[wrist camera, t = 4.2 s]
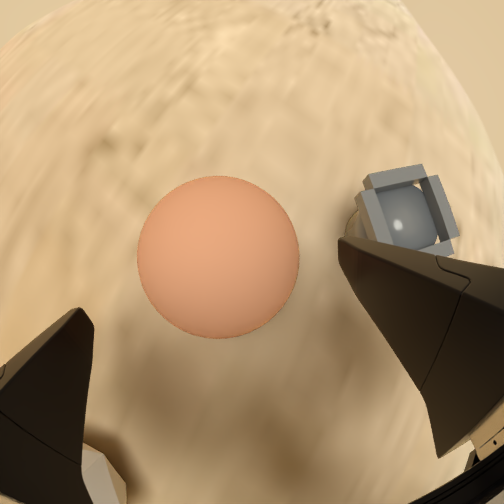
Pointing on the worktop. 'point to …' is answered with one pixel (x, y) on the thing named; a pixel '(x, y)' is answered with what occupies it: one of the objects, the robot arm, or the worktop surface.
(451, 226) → the slate cup
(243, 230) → the peach ball
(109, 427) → the worktop surface
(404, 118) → the worktop surface
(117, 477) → the die
